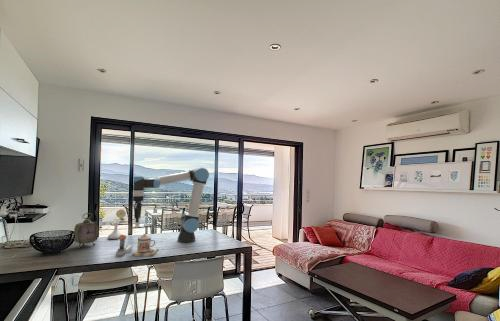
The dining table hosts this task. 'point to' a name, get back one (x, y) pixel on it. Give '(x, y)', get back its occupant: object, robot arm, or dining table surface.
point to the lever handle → (122, 242)
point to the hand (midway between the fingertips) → (137, 226)
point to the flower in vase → (115, 233)
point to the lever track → (122, 253)
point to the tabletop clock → (86, 231)
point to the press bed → (149, 253)
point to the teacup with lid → (144, 243)
